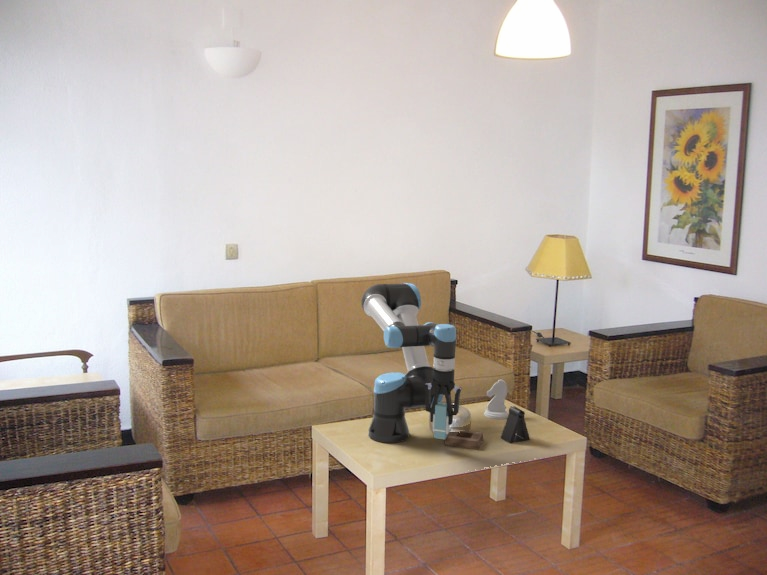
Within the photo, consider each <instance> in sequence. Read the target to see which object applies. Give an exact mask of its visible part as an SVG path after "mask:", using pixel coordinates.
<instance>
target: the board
mask: <svg viewBox="0 0 767 575" xmlns="http://www.w3.org/2000/svg"><path fill="white" fill-rule="evenodd" d="M464 430H465V431H460V433H459V432H450V431H449V433H448V436H447V437H446V439H444V446H449V445H450V446H451V447H456V446H457V447H458V448H465V449H471V450H478V449H479V447H481V444H482V443H483V441H484V432H482V431H481V432H480V431H473V430H467V429H464Z"/></svg>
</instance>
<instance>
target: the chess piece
mask: <svg viewBox="0 0 767 575" xmlns="http://www.w3.org/2000/svg"><path fill="white" fill-rule="evenodd" d="M507 394H508V386H507V383H506V381H505V380H503V379H498V380H497V381H496V382H494V384H493V385H492V386H491V388H490V389H488V390H487V392H486V396H487V397H488V398H492V399H491V400H490V401H489V402H488V403H487V405H486V407H487V408H486V409H485V411H484V412H483V415H484V416H485V417H486V418H489V419H491V420H504V419H507V418H508V415H509V412H507V406H506V405H505V401H506V398H507ZM492 396H493V397H492Z"/></svg>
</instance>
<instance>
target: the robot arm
mask: <svg viewBox="0 0 767 575" xmlns="http://www.w3.org/2000/svg"><path fill="white" fill-rule="evenodd" d="M421 298H422V297H421V292H420V290H419V288H418V287H417V285H415V284H414V283H410V282H409V283H407V282H401V283H376V284H373V285H371V286H369V287H368V288H367V289H366V290H365V291H364V292H363V294H362V296H361V301H360V302H361V309H362V310H363V311H364V313H365V314H366V315H367V316H369V317H371V318H372V319H373V320H374V321H375V323H376V324H377V325H378V326H379V328H380V329H381V330H382V331H383V342H384V344H385V346H386V347H387V348H392V349H393V348H395V349H399V348H402V353H403V358H404V362H405V365H406V370H407V371H406V373H403V372H394V371H392V372H386V373H383V374H380V375H379V376H377V377H376V378H375V380H374V387H373V416H372V419H371V422H370V425H369V427H368V437H369V438H370V439H371V440H373V441H376V442H379V443H380V442H381V443H387V444H389V443H391V444H392V443H393V444H394V443H400V442H404V441H406V440H408V439H409V436H410V430H409V426H408V423H407V420H406V415H405V414H406V409H411V408H425V411H426V412H428V413H429V414H430V423H432V433H434V424H435V405H436V404H437V403H438V402H441V403H442V401H443V399H444V398H445V403H447V409H448V415H447V416H446V434H448V433H449V432H450V430H451V427H450V426H452V424H453V421H454V420H453V419H454V416H457V415H458V413H459V410H460V400H461V399H460V398H461V393H462V390H463V387H461V386H457V385H456V383H455V368H456V367H455V366H456V345H457V344H456V342H457V328H456V326H455V325H453V324H449V323H440V324H437V323H435V322H430V321H428V322H425V323H424V324H419V322H418V318H417V315H418V314H419V312H420V309H421V308H422V307H421V306H422V300H421ZM430 346H431V347H433V361H432V362H433V366H431V365H430V363H429V359H428V355H427V351H426V348H425V347H430ZM453 389H454V393H455V394H454V400H453V401H454V404H453V402H452V394H451V392H452V391H453ZM453 405H454V406H453Z"/></svg>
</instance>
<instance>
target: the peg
mask: <svg viewBox="0 0 767 575" xmlns="http://www.w3.org/2000/svg"><path fill="white" fill-rule="evenodd" d="M447 415H448V409H447V403H446V402H442V401H441V402H438V403H437V404H436V405H435V424H434V432H433V439H439V440H445V439H446V437H447V436H448V434H446V416H447Z"/></svg>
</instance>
